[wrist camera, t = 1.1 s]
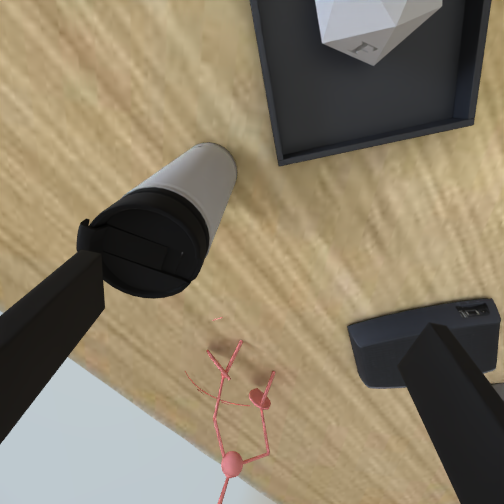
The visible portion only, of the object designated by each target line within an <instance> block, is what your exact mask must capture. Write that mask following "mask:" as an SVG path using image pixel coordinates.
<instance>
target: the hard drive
mask: <svg viewBox="0 0 504 504" xmlns="http://www.w3.org/2000/svg"><path fill="white" fill-rule="evenodd" d="M428 322H431V323H436V324H441V325H446V326H447V327H448V328H449V330H450V331H451V332H452V334H453V335H454V336H455V337H456V339H457V340H458V341H459V343H460V344H461V345H462V347H463V348H464V349H465V351H466V352H467V353H468V355H469V356H470V357H471V359H472V360H473V361H474V363H475V364H476V365H477V367H478V368H479V369H480V371H481V372H482V373H483V374H484V373H487V372H490V371H493V370H495V369H496V363H497V353H498V340H499V329H500V322H501V318H500V315H499V312H498V309H497V307H496V305H495V303H494V301H493V299H492V298H490V299H476V300H468V301H460V302H453V303H447V304H441V305H435V306H429V307H424V308H418V309H413V310H408V311H404V312H399V313H395V314H390V315H386V316H382V317H378V318H374V319H370V320H366V321H363V322H359V323H356V324H352V325H350V326H348V327H347V328H348V332H349V336H350V341H351V344H352V349H353V353H354V357H355V361H356V365H357V369H358V373H359V376H360V378H361V380H362V381H363V382H364V384H365V385H366V386H367V387H369V388H377V389H386V388H405V387H406V384H405V382H404V380H403V378H402V376H401V374H400V371H399V369H398V367H397V365H398V364H399V363H400V361H401V360H402V358H403V357H404V356H405V354H406V353H407V352H408V350H409V349H410V347H411V346H412V345H413V343H414V342H415V340H416V339H417V338H418V336H419V335H420V333H421V332H422V331H423V329H424V328H425V327H426V325H427V324H428Z"/></svg>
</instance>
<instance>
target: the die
mask: <svg viewBox="0 0 504 504" xmlns="http://www.w3.org/2000/svg"><path fill="white" fill-rule="evenodd" d="M315 3H316V9H317V15H318V21H319V27H320V33H321V39H322V43H323V44H325V45H327V46H329V47H332V48H334V49H336V50H338V51H341V52H343V53H345V54H348V55H350V56H352V57H354V58H357V59H359V60H361V61H363V62H366V63H368V64H370V65H372V66H374V65H375V64H376V63H377V62H379V61H380V60H381V59H382V58H383V57H384V56H386V55H387V54H388V53H389V52H390V51H391V50H392V49H394V48H395V47H396V46H397V45H398V44H399V43H400V42H402V41H403V40H404V39H405V38H406V37H407V36H408V35H410V34H411V33H412V32H413V31H414V30H415V29H417V28H418V27H419V26H420V25H421V24H422V23H423V22H425V21H426V20H427V19H428V18H429V17H430V16H431V15H433V14H434V13H435V12H436V11H437V10H438V9H439V8H441V7H442V0H315Z"/></svg>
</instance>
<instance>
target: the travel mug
mask: <svg viewBox="0 0 504 504" xmlns="http://www.w3.org/2000/svg"><path fill="white" fill-rule="evenodd" d="M236 179H237V166H236V162H235V160H234V158H233V156H232V155H231V154H230V152H229V151H227V150H226V149H225V148H224V147H222V146H220V145H218V144H215V143H210V142H206V143H200V144H197V145H196V146H194V147H192V148H191V149H189V150H188V151H186V152H185V153H184V154H182V155H181V156H179V157H178V158H176V159H175V160H174V161H172V162H171V163H169V164H168V165H166V166H165V167H164V168H162V169H161V170H159V171H158V172H156V173H155V174H154V175H152V176H151V177H149V178H148V179H146V180H145V181H144V182H142V183H141V184H139V185H138V186H136V187H135V188H134V189H132V190H131V191H129V192H128V193H126V194H125V195H124V196H123V197H122V198H121V199H120V200H118V201H117V202H116V203H114V204H113V205H111V206H110V207H109V208H107V209H106V210H104V211H103V212H101V213H100V214H99V215H98V216H97V217H96V218H95V219H94V220H93V221H92V223H91V224H90V225H89V219H85V220H84V221H82V222H81V223H80V226H79V229H78V235H77V252H78V251H80V250H86V251H91V252H96V253H100V254H101V255H102V271H103V280H104V281H105V282H107V283H108V284H110V285H111V286H112V287H114V288H116V289H118V290H120V291H122V292H124V293H127V294H130V295H133V296H137V297H142V298H164V297H168V296H173V295H175V294H177V293H180V292H182V291H183V290H184V289H185V288H186V287H187V286H188V285H189V284H190V283H191V281H193V280H194V279H196V277H197V275H198V274H199V272H200V270H201V267H202V265H203V262H204V259H205V258H206V256H207V254H208V252H209V249H210V247H211V244H212V242H213V239H214V236H215V234H216V231H217V229H218V226H219V224H220V221H221V218H222V216H223V213H224V211H225V208H226V206H227V203H228V200H229V198H230V195H231V193H232V190H233V188H234V185H235V182H236ZM88 225H89V226H88Z"/></svg>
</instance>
